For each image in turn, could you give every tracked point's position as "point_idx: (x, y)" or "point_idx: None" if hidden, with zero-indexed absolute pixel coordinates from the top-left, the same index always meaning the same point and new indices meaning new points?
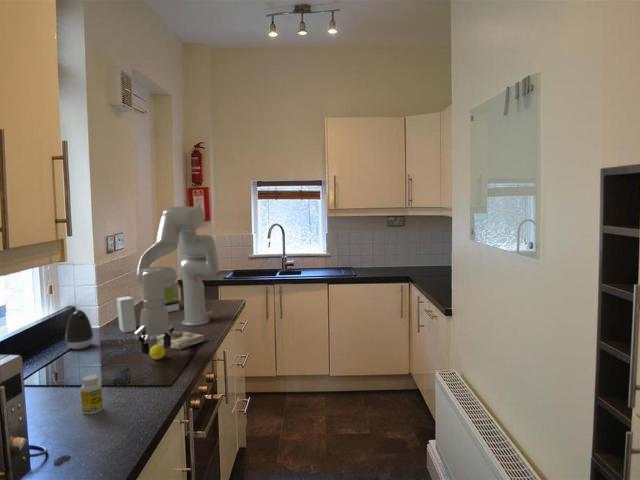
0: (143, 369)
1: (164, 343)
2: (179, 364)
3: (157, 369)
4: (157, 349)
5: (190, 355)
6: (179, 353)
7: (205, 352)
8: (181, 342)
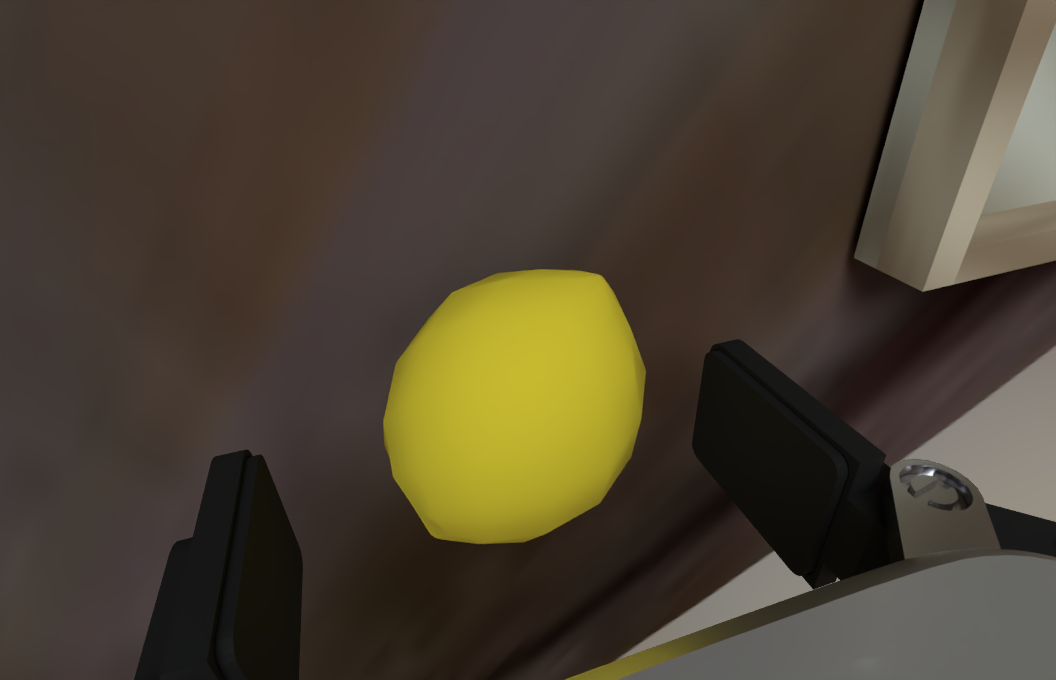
0: (137, 574)
1: (734, 388)
2: (506, 618)
3: None
4: (475, 541)
5: None
6: None
7: None
8: (977, 264)
